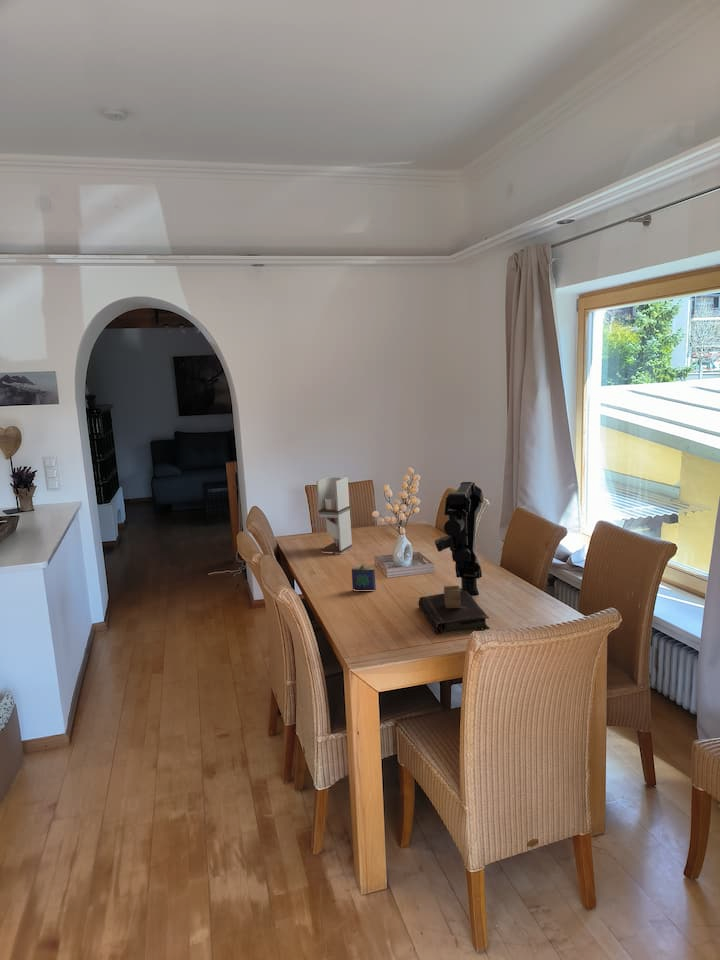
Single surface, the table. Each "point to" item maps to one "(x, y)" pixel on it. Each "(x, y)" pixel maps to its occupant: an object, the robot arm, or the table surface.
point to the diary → (453, 613)
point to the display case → (335, 512)
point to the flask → (363, 578)
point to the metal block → (452, 597)
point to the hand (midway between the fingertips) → (460, 572)
